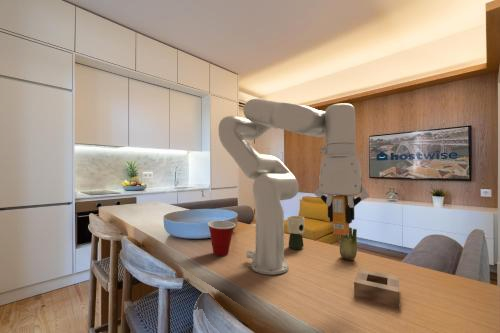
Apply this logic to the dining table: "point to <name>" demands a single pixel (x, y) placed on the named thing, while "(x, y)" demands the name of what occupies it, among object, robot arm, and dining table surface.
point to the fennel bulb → (349, 245)
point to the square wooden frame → (377, 287)
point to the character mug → (296, 231)
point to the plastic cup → (221, 236)
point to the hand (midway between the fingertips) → (340, 221)
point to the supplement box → (340, 214)
